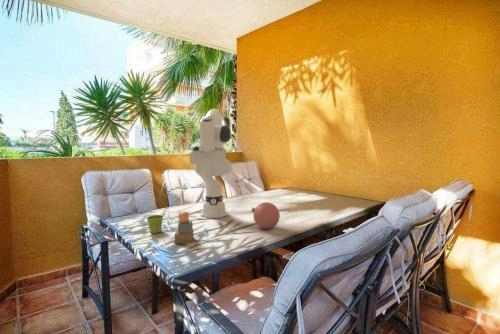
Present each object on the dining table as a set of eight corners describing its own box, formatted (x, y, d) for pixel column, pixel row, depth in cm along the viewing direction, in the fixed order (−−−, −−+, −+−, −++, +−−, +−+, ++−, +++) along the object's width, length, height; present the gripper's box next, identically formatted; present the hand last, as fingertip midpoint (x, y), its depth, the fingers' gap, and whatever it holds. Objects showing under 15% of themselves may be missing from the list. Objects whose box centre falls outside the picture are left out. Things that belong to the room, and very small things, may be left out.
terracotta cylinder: (187, 220, 154) (186, 211, 154) (190, 222, 150) (189, 213, 150) (177, 221, 152) (177, 212, 152) (180, 224, 148) (180, 214, 147)
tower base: (178, 238, 156) (178, 229, 156) (193, 238, 156) (193, 229, 156) (175, 243, 148) (174, 234, 148) (190, 243, 148) (190, 233, 148)
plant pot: (146, 235, 161) (145, 219, 161) (147, 230, 170) (146, 215, 170) (164, 233, 164) (163, 218, 163) (164, 228, 173) (163, 214, 172)
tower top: (181, 229, 154) (181, 220, 154) (192, 229, 154) (192, 220, 154) (178, 233, 148) (178, 223, 148) (190, 233, 148) (189, 223, 148)
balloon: (262, 221, 186) (262, 198, 185) (285, 228, 170) (285, 203, 169) (243, 226, 176) (243, 201, 175) (265, 234, 161) (265, 206, 160)
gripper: (226, 147, 167) (226, 171, 168) (190, 147, 166) (191, 171, 167) (225, 147, 160) (226, 172, 161) (188, 148, 159) (189, 173, 161)
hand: (208, 172), depth 164 cm, fingers open, 8 cm apart
